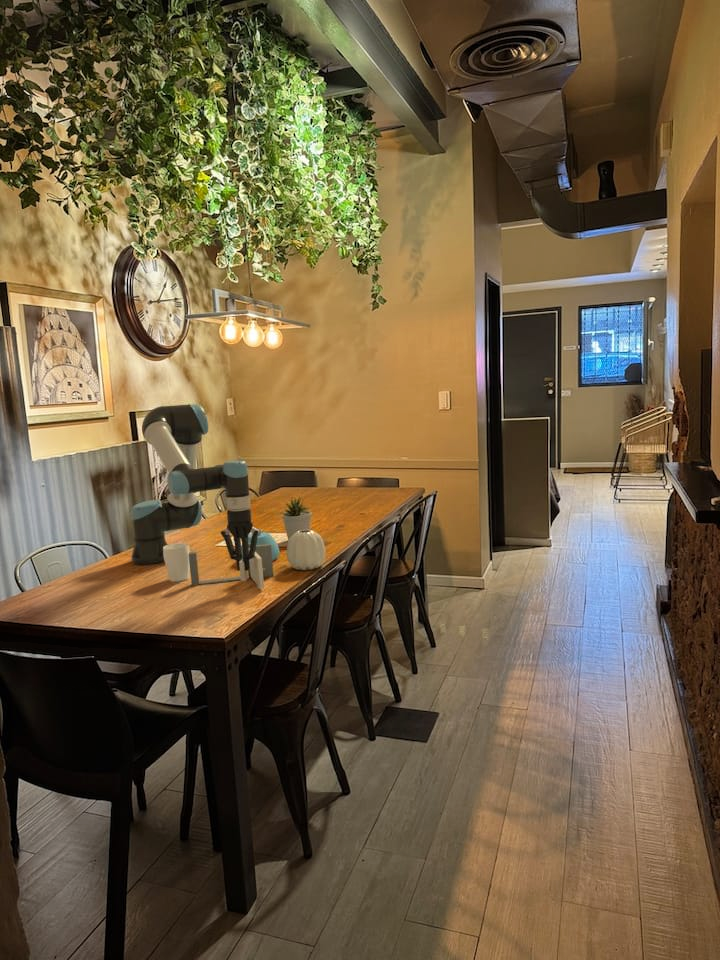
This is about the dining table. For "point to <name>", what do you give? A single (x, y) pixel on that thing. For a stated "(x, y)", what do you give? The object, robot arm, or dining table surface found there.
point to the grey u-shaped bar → (261, 550)
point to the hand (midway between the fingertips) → (244, 579)
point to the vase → (305, 550)
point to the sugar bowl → (265, 539)
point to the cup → (177, 561)
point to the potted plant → (296, 518)
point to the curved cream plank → (257, 570)
